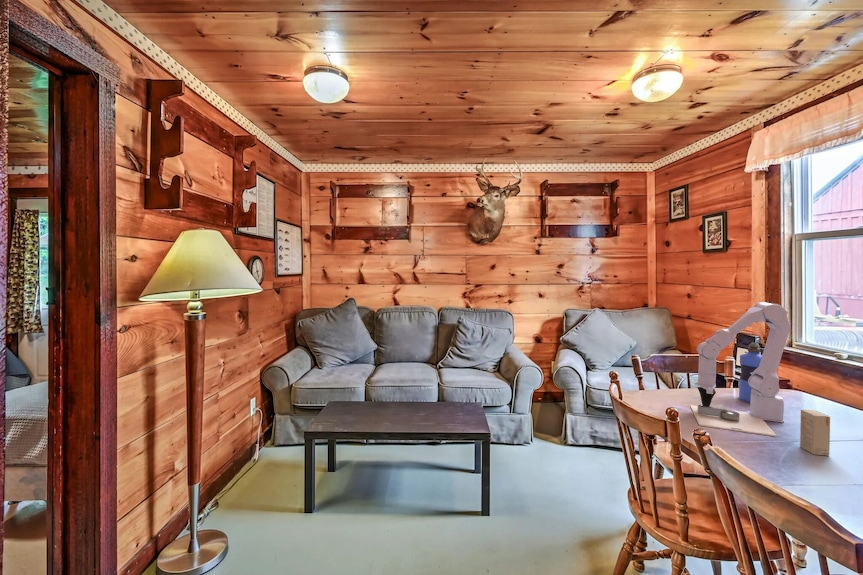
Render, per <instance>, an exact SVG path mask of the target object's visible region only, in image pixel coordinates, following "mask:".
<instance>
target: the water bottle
mask: <svg viewBox="0 0 863 575" xmlns="http://www.w3.org/2000/svg"><path fill="white" fill-rule="evenodd" d="M760 347H761V346H760V345H759V344H758V343H757V342H751V343H749V344H748V347H747V352H746V353H744V354H743V353H742V354H740V355H739V364H740V372H741V373H740V376H739V385H738V391H739V392H738V399H739V400H740V401H742V402H745V403H749V404H750V402H751V390H752V388H751V387H750V386H749V384H748V379H749V377H750V376H751V375H752V374H753V373H754V370H755V369H757V368H758V367H759V365H760V361H761V358H762V355H763V354H761V348H760Z"/></svg>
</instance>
